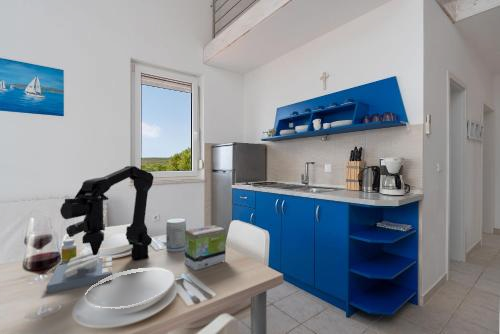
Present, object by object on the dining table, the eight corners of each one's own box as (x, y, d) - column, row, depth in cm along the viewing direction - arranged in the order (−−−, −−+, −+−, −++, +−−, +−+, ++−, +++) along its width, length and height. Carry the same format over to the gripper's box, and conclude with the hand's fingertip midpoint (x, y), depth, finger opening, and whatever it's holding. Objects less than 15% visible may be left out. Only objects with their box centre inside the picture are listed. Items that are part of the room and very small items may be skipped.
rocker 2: (99, 257, 99) (98, 253, 99) (98, 260, 96) (97, 255, 96) (69, 266, 94) (68, 262, 94) (67, 270, 91) (66, 265, 91)
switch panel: (111, 262, 108) (111, 249, 108) (112, 279, 91) (112, 264, 91) (57, 271, 98) (57, 257, 98) (47, 293, 82) (46, 276, 82)
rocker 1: (99, 251, 104) (98, 247, 104) (99, 254, 101) (97, 250, 101) (72, 262, 99) (70, 258, 99) (70, 265, 96) (69, 261, 96)
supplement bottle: (68, 264, 106) (68, 242, 105) (58, 263, 107) (58, 241, 107) (79, 259, 111) (79, 238, 111) (69, 259, 112) (69, 237, 112)
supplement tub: (163, 248, 125) (163, 219, 125) (181, 244, 131) (181, 217, 131) (170, 254, 117) (170, 223, 117) (189, 249, 123) (188, 220, 123)
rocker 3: (98, 261, 94) (97, 256, 93) (98, 264, 91) (96, 260, 90) (67, 273, 89) (65, 269, 89) (66, 277, 86) (64, 273, 86)
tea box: (195, 271, 98) (195, 234, 98) (184, 264, 106) (184, 229, 105) (226, 261, 108) (226, 228, 108) (213, 255, 116) (213, 224, 115)
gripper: (71, 211, 96) (72, 251, 96) (63, 221, 79) (64, 268, 80) (104, 208, 101) (105, 246, 101) (103, 217, 85) (104, 261, 85)
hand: (95, 254), depth 92 cm, fingers closed
